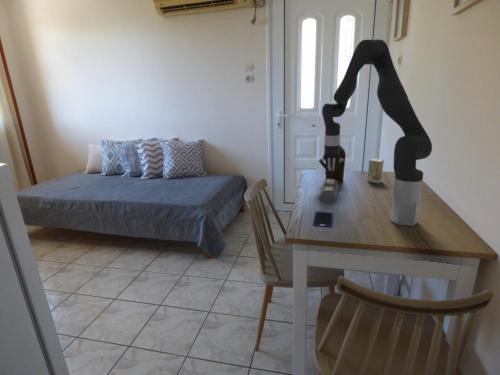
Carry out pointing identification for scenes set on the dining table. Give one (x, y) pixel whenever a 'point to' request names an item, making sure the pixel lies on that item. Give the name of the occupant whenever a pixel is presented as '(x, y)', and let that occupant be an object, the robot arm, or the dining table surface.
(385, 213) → the dining table surface
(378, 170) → the skincare box
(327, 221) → the cell phone
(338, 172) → the olive oil
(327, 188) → the near switch
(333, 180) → the far switch
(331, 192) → the switch panel
